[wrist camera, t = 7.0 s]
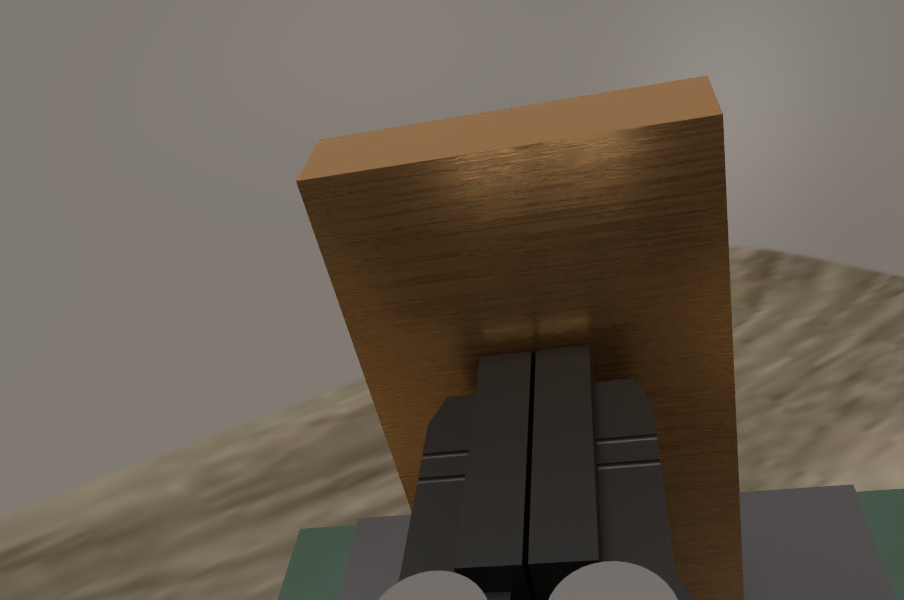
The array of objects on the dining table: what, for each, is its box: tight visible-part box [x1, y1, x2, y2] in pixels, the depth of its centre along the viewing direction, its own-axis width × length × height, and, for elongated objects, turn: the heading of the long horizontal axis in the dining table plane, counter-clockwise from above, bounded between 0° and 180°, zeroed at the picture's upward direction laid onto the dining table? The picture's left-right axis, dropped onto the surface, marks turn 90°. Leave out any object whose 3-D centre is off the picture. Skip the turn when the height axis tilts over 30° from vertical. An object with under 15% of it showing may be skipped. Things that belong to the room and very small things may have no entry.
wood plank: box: [296, 76, 744, 600], centre depth 16 cm, size 5×8×9 cm, turn 174°
